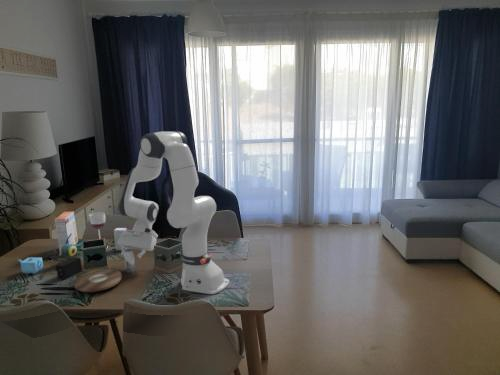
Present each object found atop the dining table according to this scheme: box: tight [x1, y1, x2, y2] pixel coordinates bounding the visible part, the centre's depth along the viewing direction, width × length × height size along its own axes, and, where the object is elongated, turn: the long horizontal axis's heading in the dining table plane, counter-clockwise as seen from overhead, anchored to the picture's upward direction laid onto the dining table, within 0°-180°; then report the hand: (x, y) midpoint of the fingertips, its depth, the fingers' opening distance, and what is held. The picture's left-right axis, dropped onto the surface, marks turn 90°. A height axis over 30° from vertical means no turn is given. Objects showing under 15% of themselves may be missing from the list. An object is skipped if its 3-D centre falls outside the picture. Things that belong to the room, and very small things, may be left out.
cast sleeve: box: [123, 249, 136, 274], centre depth 181 cm, size 4×4×10 cm
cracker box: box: [54, 211, 79, 254], centre depth 208 cm, size 14×6×21 cm, turn 6°
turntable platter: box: [73, 268, 123, 293], centre depth 169 cm, size 20×20×2 cm
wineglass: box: [88, 211, 109, 248], centre depth 211 cm, size 8×9×20 cm
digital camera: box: [55, 256, 83, 281], centre depth 179 cm, size 10×5×7 cm, turn 155°
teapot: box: [17, 257, 44, 275], centre depth 182 cm, size 12×6×8 cm, turn 89°
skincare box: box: [113, 227, 129, 251], centre depth 209 cm, size 6×4×12 cm
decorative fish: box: [58, 234, 84, 260], centre depth 193 cm, size 13×12×6 cm
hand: (130, 256), depth 182 cm, fingers open, 8 cm apart
